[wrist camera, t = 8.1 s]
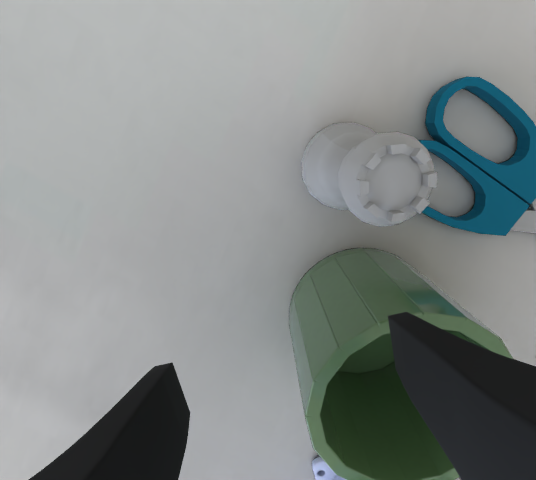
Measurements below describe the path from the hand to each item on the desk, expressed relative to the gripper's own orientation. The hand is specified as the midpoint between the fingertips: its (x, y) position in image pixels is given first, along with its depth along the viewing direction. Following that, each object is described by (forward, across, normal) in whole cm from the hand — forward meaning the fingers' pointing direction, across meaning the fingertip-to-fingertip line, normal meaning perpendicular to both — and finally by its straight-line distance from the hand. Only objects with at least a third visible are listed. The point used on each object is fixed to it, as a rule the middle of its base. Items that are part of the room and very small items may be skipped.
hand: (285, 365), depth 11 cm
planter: (+9, -4, +4) cm, 11 cm away
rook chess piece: (+10, -5, -5) cm, 12 cm away
